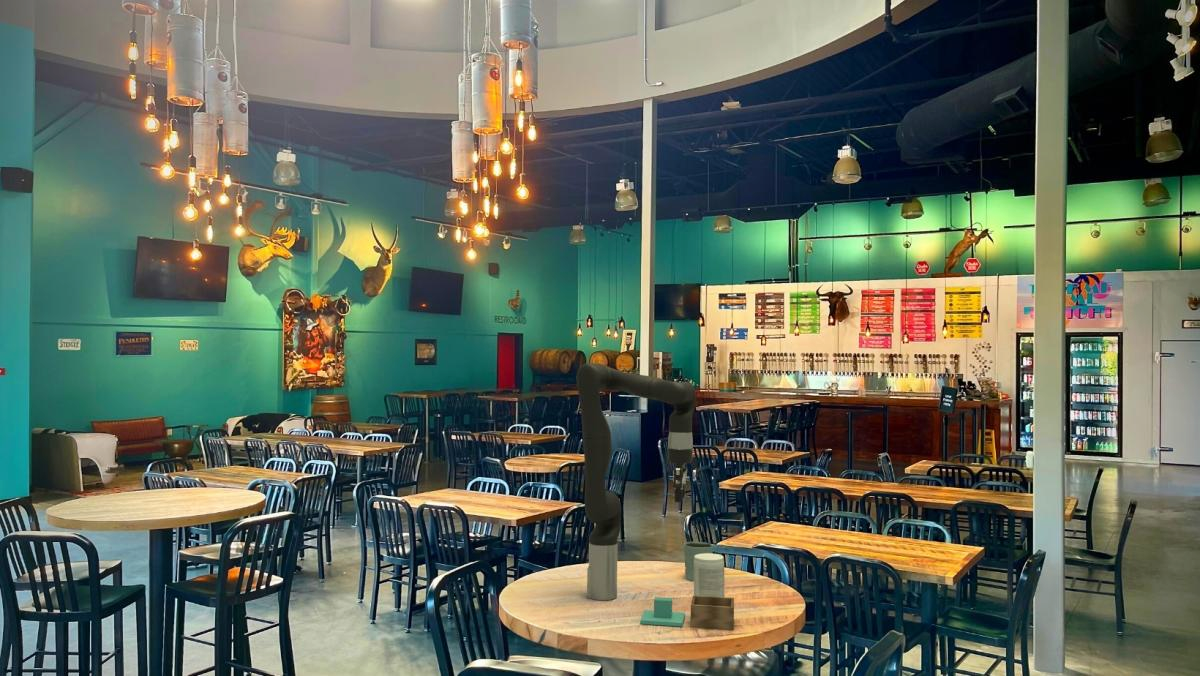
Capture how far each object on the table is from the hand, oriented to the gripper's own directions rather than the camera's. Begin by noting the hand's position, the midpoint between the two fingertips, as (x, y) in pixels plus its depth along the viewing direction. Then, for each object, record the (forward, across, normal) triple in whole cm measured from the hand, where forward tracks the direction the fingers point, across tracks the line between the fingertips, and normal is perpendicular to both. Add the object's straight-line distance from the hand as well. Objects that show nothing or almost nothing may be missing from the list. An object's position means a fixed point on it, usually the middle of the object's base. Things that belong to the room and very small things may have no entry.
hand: (679, 499), depth 253 cm
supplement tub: (+34, -10, +9) cm, 36 cm away
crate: (+34, +13, +11) cm, 38 cm away
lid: (+34, +14, -3) cm, 37 cm away
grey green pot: (+34, -38, +3) cm, 51 cm away
